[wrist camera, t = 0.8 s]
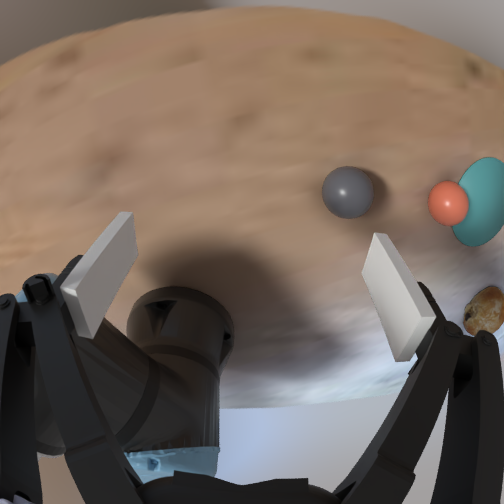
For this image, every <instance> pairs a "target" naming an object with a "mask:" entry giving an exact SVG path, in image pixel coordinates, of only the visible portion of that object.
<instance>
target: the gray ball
mask: <svg viewBox="0 0 504 504" xmlns="http://www.w3.org/2000/svg"><path fill="white" fill-rule="evenodd" d="M322 196H323V200H324V203H325V205H326V207H327V208H328V209H329V210H330V211H331V212H332V213H333V214H334V215H336V216H338V217H340V218H344V219H353V218H357V217H360V216H362V215H363V214H364V213H366V212H367V211H368V209H369V208H370V206H371V204H372V202H373V198H374V189H373V185H372V182H371V180H370V179H369V177H368V176H367V175H366V174H365V173H364V172H363V171H361V170H360V169H358V168H355V167H350V166H344V167H340V168H337V169H335V170H333V171H332V172H331V173H330V174H329V175H328V176H327V177H326V179H325V181H324V183H323V187H322Z"/></svg>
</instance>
